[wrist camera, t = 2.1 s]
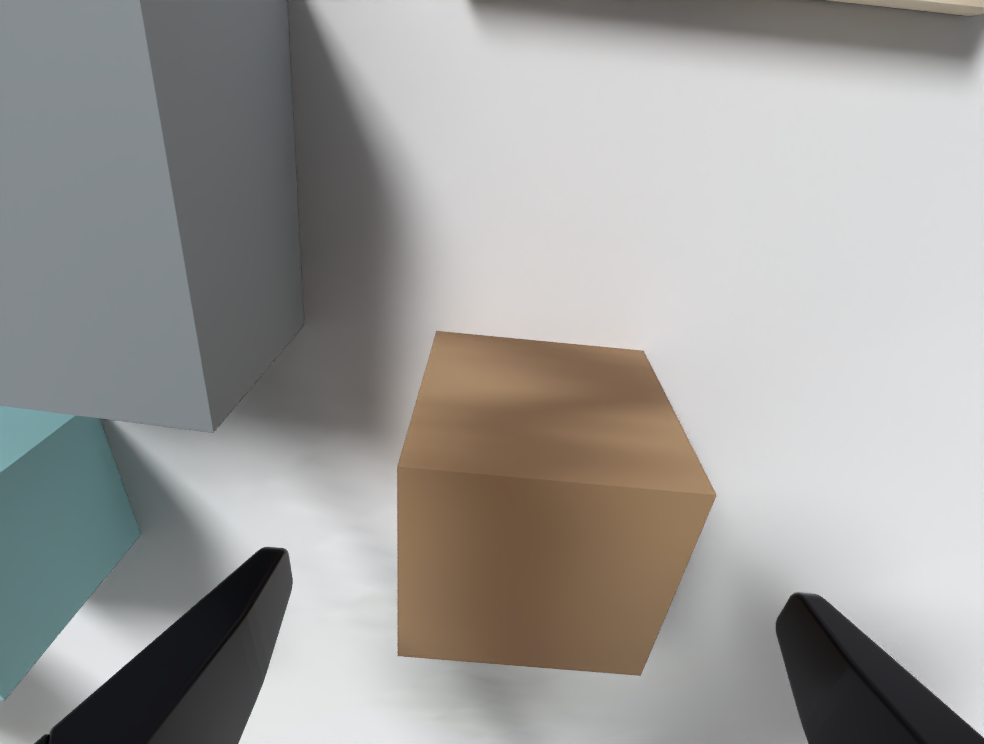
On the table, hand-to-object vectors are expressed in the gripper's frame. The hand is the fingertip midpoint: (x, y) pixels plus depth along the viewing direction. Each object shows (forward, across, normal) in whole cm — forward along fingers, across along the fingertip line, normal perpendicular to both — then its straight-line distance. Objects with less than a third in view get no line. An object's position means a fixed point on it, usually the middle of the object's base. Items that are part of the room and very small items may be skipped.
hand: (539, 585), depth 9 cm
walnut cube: (+5, 0, 0) cm, 5 cm away
